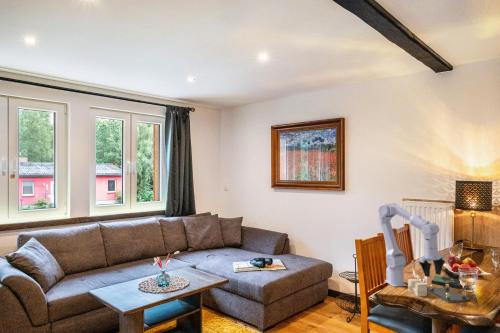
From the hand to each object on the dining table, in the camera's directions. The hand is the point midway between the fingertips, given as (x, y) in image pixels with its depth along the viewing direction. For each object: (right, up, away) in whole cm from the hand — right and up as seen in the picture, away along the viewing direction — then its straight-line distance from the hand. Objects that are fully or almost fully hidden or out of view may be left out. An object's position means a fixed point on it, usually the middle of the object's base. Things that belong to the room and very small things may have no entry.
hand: (432, 275), depth 169 cm
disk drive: (+18, -11, +17) cm, 27 cm away
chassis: (+8, -10, +1) cm, 13 cm away
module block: (-6, -11, +4) cm, 13 cm away
